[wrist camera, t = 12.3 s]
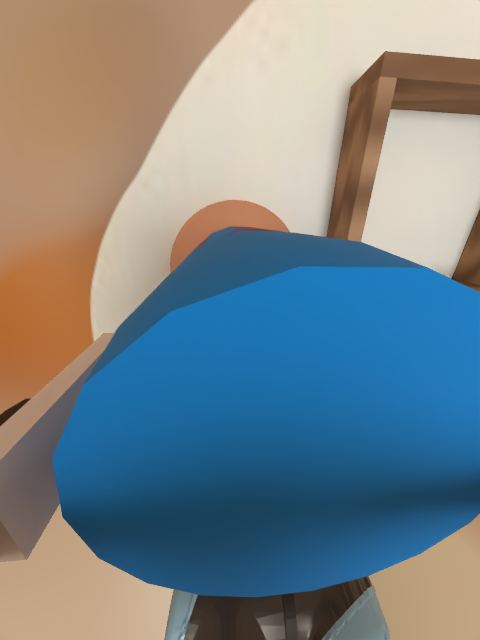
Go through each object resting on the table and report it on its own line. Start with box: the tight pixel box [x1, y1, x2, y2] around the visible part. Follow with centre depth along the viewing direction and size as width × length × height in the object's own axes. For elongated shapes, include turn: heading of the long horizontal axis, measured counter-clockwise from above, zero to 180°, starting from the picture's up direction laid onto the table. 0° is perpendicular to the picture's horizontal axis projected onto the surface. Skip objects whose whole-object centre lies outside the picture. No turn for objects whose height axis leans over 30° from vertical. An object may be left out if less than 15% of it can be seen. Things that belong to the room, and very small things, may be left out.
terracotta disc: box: [170, 200, 290, 273], centre depth 28 cm, size 16×16×1 cm
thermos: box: [52, 226, 480, 597], centre depth 16 cm, size 11×11×25 cm
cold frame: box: [327, 51, 480, 293], centre depth 22 cm, size 21×21×12 cm
